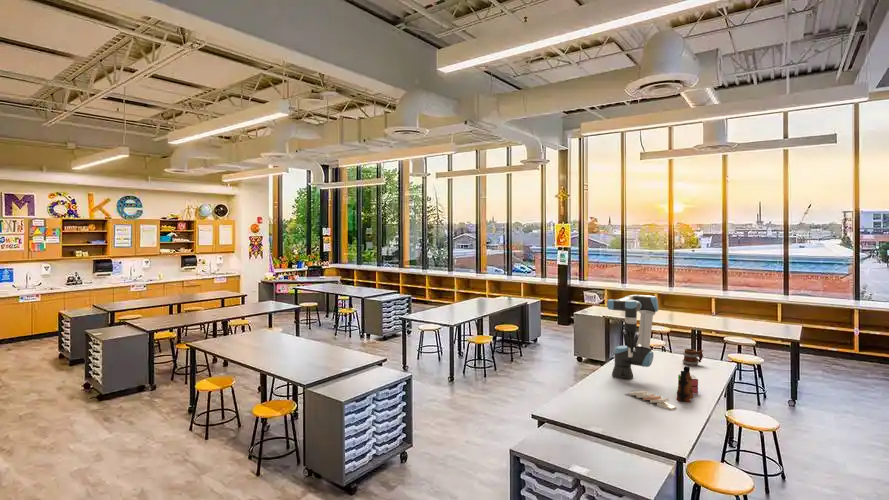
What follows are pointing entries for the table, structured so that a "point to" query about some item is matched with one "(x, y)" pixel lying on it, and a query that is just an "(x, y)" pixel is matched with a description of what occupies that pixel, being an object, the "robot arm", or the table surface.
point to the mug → (692, 357)
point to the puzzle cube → (693, 383)
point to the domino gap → (652, 398)
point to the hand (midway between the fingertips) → (630, 356)
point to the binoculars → (685, 386)
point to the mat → (641, 399)
